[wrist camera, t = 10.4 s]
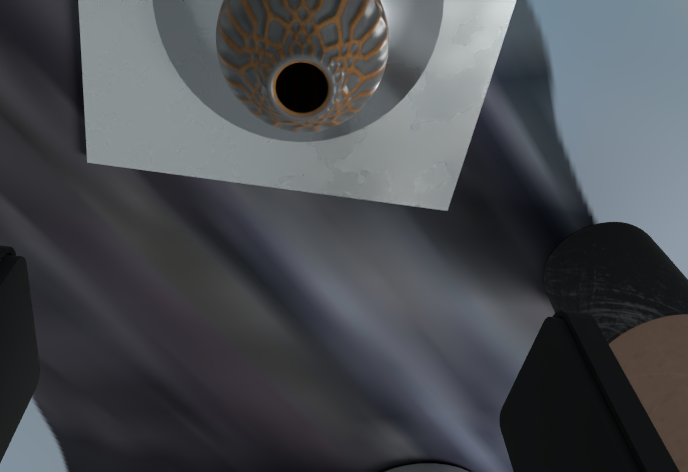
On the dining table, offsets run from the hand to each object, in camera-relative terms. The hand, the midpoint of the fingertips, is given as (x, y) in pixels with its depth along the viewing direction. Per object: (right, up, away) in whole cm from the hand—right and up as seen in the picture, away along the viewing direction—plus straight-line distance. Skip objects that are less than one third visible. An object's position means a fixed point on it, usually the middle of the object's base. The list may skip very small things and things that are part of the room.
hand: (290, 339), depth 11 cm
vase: (-1, +12, +17) cm, 21 cm away
